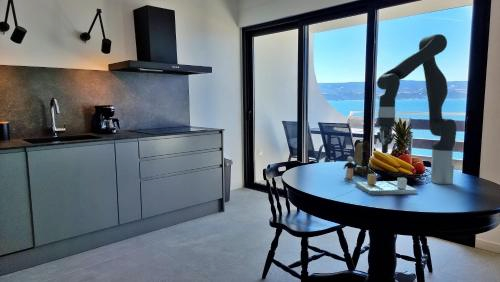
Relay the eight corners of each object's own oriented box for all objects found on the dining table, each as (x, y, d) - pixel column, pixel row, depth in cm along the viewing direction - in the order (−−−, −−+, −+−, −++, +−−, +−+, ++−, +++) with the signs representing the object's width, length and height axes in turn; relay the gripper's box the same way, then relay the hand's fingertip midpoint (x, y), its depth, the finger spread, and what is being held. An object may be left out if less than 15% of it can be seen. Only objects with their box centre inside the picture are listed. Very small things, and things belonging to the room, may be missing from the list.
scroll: (342, 172, 199) (343, 139, 197) (361, 170, 205) (362, 138, 203) (360, 177, 185) (361, 142, 183) (380, 175, 192) (381, 140, 189)
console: (397, 184, 168) (397, 180, 168) (416, 193, 151) (417, 189, 151) (355, 185, 166) (355, 181, 166) (370, 194, 149) (370, 190, 149)
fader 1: (373, 182, 163) (373, 173, 163) (375, 184, 160) (376, 174, 160) (367, 182, 163) (367, 173, 162) (369, 184, 160) (370, 174, 159)
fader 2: (402, 186, 154) (403, 177, 154) (406, 188, 151) (406, 178, 151) (396, 187, 154) (397, 177, 154) (400, 188, 151) (400, 178, 151)
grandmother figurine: (341, 179, 181) (342, 156, 180) (343, 177, 185) (344, 155, 183) (356, 180, 178) (357, 157, 176) (357, 179, 181) (358, 156, 180)
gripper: (401, 117, 153) (399, 154, 154) (386, 116, 166) (385, 150, 168) (386, 116, 152) (384, 154, 154) (372, 116, 165) (370, 150, 167)
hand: (384, 152), depth 161 cm, fingers closed
